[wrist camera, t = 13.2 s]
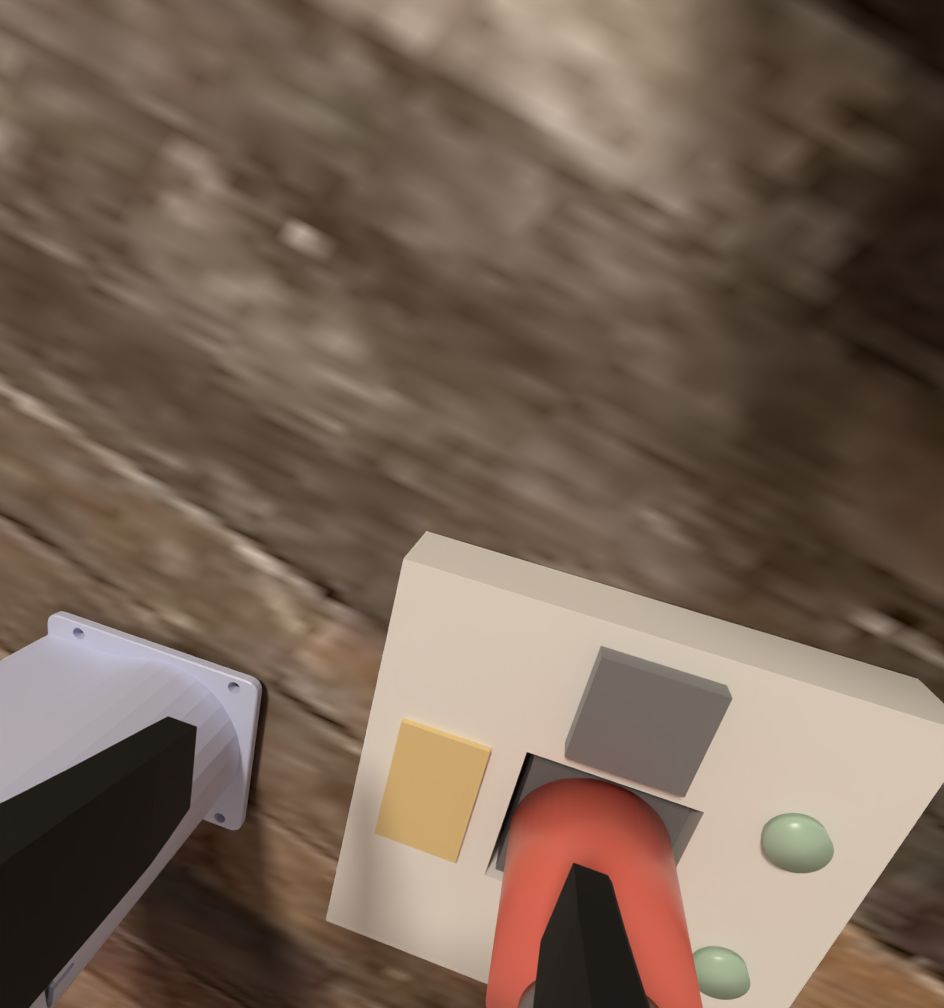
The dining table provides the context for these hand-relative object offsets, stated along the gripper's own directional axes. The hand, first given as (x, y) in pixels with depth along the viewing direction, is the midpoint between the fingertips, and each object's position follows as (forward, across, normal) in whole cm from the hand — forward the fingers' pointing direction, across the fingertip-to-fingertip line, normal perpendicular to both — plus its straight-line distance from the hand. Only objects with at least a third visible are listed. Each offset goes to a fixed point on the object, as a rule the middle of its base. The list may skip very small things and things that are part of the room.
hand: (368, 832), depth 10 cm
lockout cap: (+7, -6, +6) cm, 11 cm away
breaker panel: (+9, -6, +6) cm, 13 cm away
